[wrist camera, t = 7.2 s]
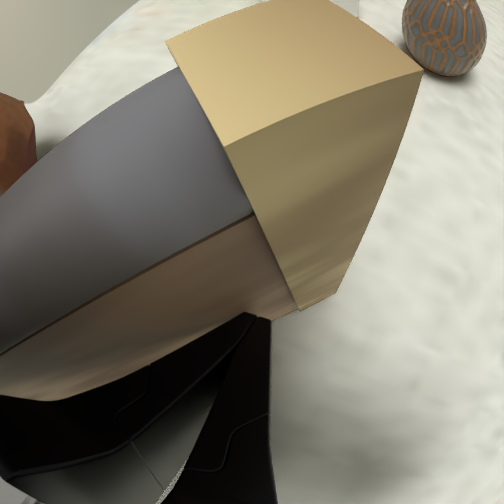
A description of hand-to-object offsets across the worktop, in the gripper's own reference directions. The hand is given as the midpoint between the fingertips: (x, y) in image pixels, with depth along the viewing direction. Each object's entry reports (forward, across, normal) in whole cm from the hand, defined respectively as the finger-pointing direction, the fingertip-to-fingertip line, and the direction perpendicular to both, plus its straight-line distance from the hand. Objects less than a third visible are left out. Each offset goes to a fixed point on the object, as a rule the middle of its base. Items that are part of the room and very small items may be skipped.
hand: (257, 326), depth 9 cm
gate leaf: (+2, +4, +5) cm, 7 cm away
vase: (+21, -7, -12) cm, 25 cm away
